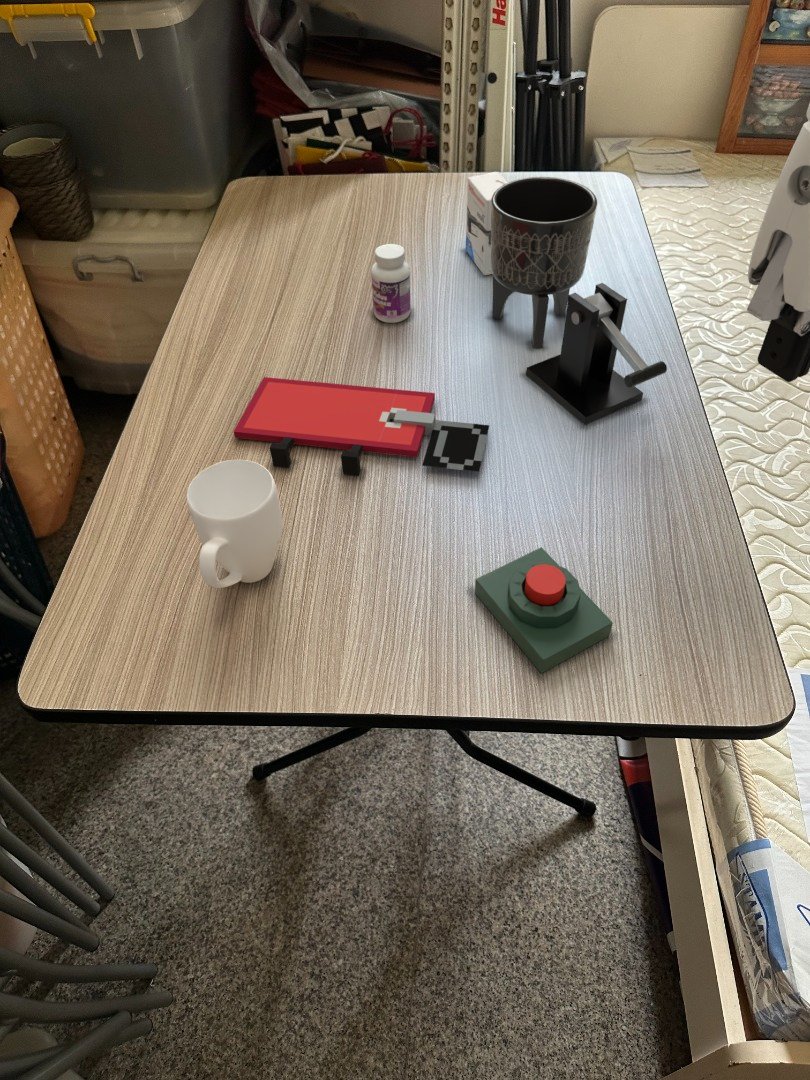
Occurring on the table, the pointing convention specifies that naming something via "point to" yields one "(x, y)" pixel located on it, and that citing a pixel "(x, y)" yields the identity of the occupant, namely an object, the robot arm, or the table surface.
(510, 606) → the button box
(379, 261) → the pill bottle
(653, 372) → the tap lever
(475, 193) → the ink box
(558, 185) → the planter
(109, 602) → the table surface
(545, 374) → the bracket
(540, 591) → the button
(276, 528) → the mug
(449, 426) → the red board with handle
